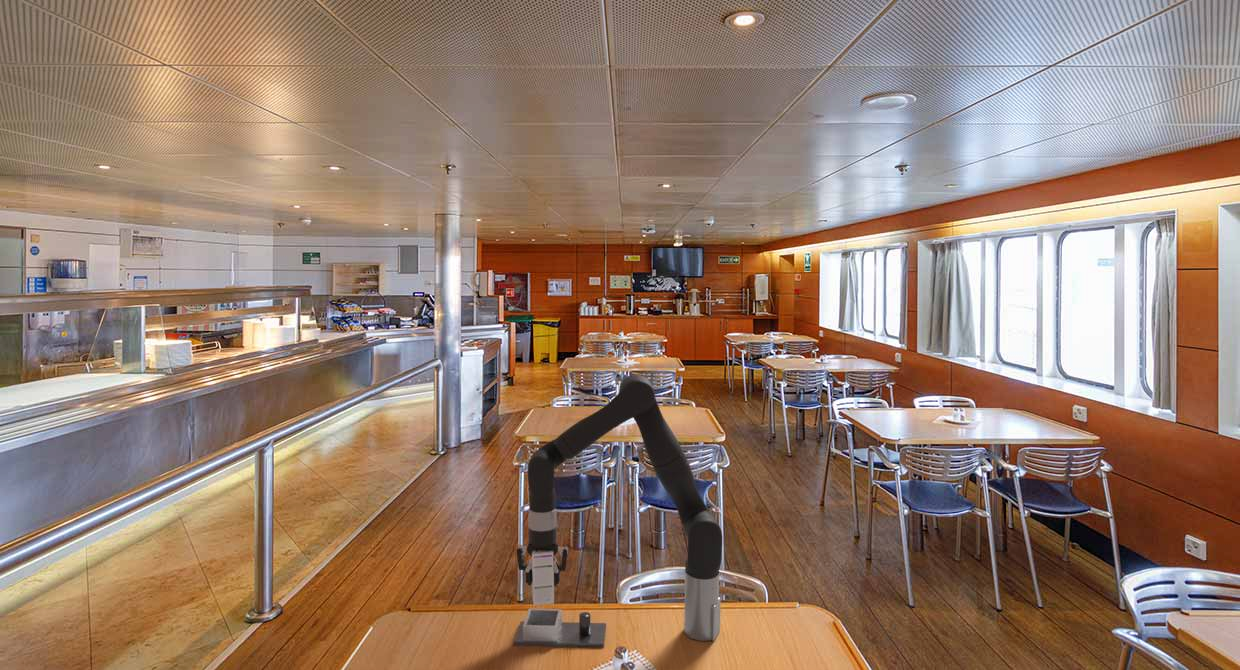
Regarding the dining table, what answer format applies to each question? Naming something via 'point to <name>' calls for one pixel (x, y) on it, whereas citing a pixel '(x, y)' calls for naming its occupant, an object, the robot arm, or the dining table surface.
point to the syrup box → (542, 577)
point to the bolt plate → (559, 630)
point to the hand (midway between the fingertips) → (542, 584)
